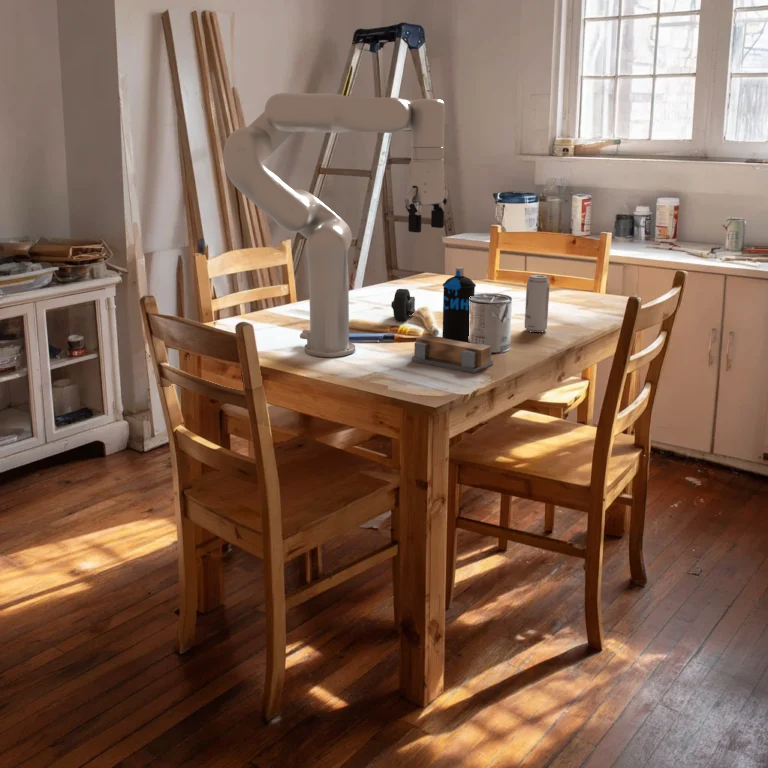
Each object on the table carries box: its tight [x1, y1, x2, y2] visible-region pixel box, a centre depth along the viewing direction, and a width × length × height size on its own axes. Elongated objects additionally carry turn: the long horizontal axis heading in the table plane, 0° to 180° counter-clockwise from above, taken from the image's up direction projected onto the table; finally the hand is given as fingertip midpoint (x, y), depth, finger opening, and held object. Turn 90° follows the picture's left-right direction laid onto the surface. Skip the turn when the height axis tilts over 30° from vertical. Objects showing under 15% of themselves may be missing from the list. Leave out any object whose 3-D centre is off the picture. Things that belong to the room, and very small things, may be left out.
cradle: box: [411, 335, 494, 374], centre depth 213 cm, size 17×9×4 cm, turn 55°
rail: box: [415, 334, 491, 367], centre depth 213 cm, size 18×4×4 cm, turn 54°
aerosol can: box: [441, 266, 477, 343], centre depth 225 cm, size 8×8×20 cm
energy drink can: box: [524, 273, 551, 332], centre depth 241 cm, size 6×6×15 cm
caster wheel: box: [391, 288, 416, 322], centre depth 255 cm, size 6×10×15 cm
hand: (426, 229), depth 212 cm, fingers open, 9 cm apart
